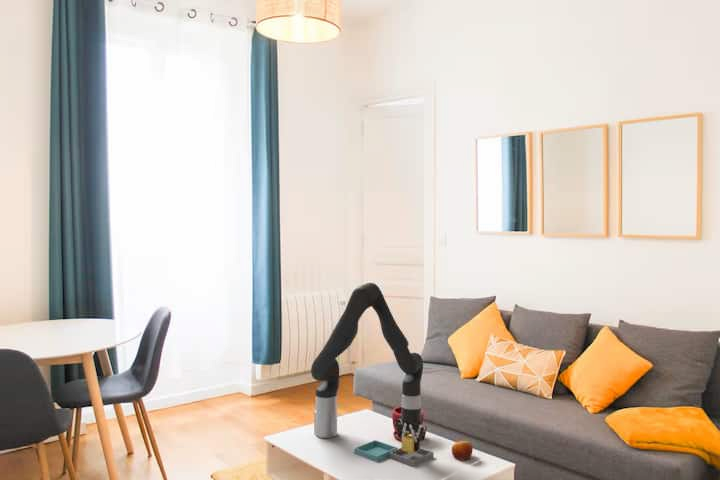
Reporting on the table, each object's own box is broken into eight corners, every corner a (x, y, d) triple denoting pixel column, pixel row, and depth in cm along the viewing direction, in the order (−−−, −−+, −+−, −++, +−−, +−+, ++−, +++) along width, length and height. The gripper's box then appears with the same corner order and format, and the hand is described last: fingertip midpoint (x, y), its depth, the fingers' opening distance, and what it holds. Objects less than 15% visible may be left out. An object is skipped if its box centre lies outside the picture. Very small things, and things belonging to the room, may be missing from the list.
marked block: (401, 450, 234) (401, 437, 234) (409, 446, 237) (410, 433, 237) (411, 453, 230) (411, 440, 230) (419, 450, 234) (420, 437, 234)
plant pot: (407, 446, 246) (406, 417, 246) (386, 437, 257) (386, 409, 256) (429, 439, 254) (429, 411, 254) (408, 430, 265) (408, 403, 264)
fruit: (463, 461, 227) (456, 440, 230) (452, 466, 233) (446, 445, 236) (480, 457, 230) (473, 436, 234) (469, 462, 237) (462, 441, 240)
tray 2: (389, 458, 233) (388, 452, 233) (409, 450, 242) (409, 444, 242) (413, 467, 225) (413, 461, 225) (433, 458, 234) (433, 452, 234)
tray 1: (354, 454, 238) (354, 448, 238) (375, 445, 247) (375, 439, 247) (376, 462, 230) (376, 456, 230) (397, 453, 238) (397, 447, 238)
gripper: (390, 403, 235) (390, 446, 236) (419, 411, 225) (419, 456, 226) (403, 399, 241) (402, 441, 241) (432, 407, 231) (431, 451, 231)
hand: (410, 448), depth 234 cm, fingers closed on marked block, 5 cm apart
